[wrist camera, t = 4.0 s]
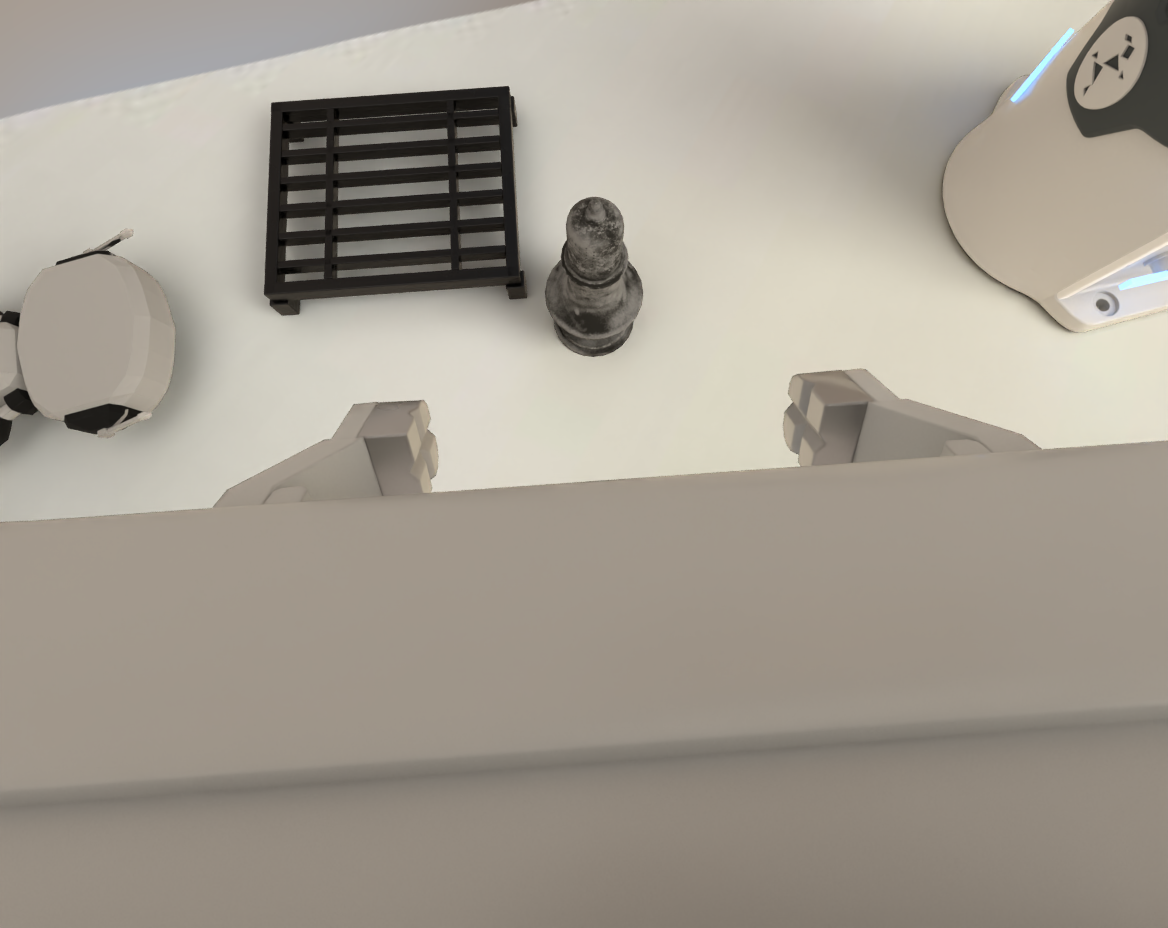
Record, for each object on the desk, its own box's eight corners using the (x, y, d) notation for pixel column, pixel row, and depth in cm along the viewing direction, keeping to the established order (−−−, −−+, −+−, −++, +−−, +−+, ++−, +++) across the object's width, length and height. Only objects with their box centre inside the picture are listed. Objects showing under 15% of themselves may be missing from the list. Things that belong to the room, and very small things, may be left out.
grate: (516, 112, 40) (511, 82, 37) (527, 298, 37) (522, 279, 35) (287, 128, 40) (268, 99, 37) (281, 315, 37) (260, 297, 35)
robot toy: (-11, 487, 36) (208, 429, 35) (-101, 477, 31) (148, 410, 31) (-18, 315, 38) (188, 258, 38) (-103, 283, 34) (129, 217, 33)
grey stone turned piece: (609, 263, 38) (618, 123, 26) (654, 333, 37) (685, 222, 25) (533, 303, 37) (507, 179, 25) (576, 376, 36) (570, 283, 24)
